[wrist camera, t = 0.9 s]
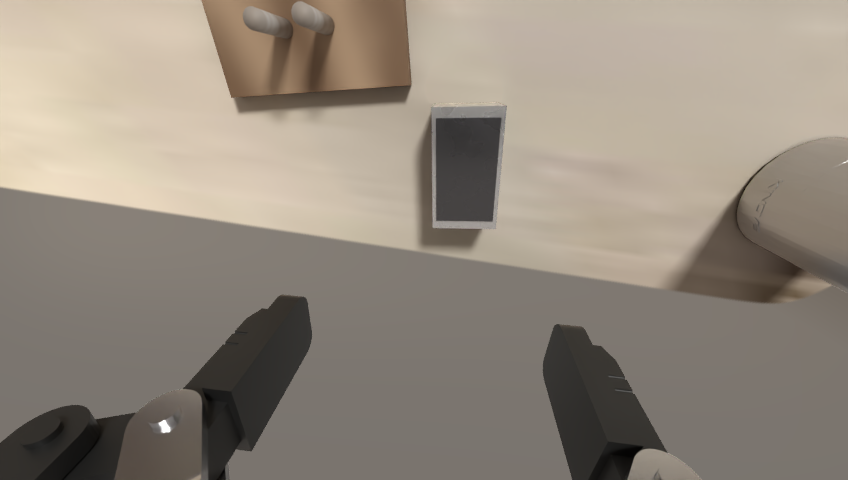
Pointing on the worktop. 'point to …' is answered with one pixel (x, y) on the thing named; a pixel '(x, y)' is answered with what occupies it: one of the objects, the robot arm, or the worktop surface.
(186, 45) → the worktop surface
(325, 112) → the worktop surface
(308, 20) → the pin tray
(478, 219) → the block
